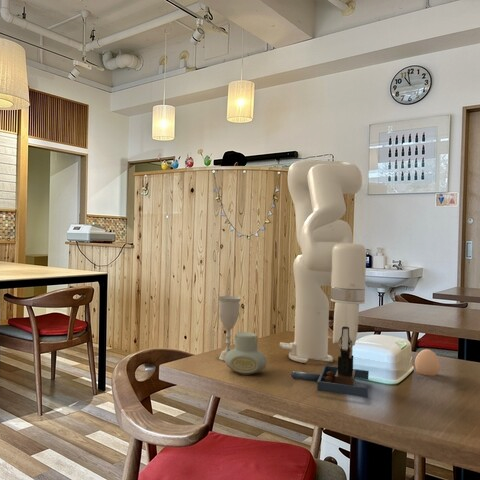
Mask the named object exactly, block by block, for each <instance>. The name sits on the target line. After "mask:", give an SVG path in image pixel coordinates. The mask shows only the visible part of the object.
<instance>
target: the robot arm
mask: <svg viewBox="0 0 480 480" xmlns="http://www.w3.org/2000/svg"><path fill="white" fill-rule="evenodd" d="M362 185H363V175H362V172H361V170H360V168H359V167H358V165H356V164H355V163H351V162H347V161H343V160H317V159H316V160H313V159H311V160H309V159H305V160H304V159H303V160H299V161H295V162H293V163H292V164H290V166H289V168H288V171H287V188H288V192H289V194H290V198H291V200H292V203H293V206H294V213H295V214H294V215H295V228H296V229H295V233H296V241H297V245H298V247H299V248H300V251H301V254H299V255H297V256H296V257H295V258H294V260H293V265H292V268H293V269H292V270H293V277H294V286H295V309H294V310H295V311H294V317H295V318H294V341H293V342H290V343H287V342H283V341H282V342H281V341H280V342H279V349H280V350H282V351H289V353H288V359H290V360H291V361H294V362H298V363H301V364H307V362H308V360H309V359H310V360H315V361H324V362H332V363H333V362H334V357H333V356H332V355H330V354H328V352H329V351H328V349H329V322H330V321H329V319H330V317H329V315H330V302H332V303H333V302H334V303H335V304H334V310H333V331H332V344H333V345H336V344H338V343H339V344H338V347H339V348H338V357H337V367H338V374H341V375H348V376H352V372H353V369H354V355H353V348H354V346H355V345H356V342H357V337H358V329H359V318H360V317H359V315H360V305H362V304H365V302H366V301H365V300H366V270H367V249H366V247H365V246H364V245H363V244H360V243H354V238H353V237H354V236H353V231H352V228H351V226H350V224H349V223H348V222H347V221H345V220H343V219H341V218H343V217H344V216H345V214H346V212H347V206H346V202H345V196H344V195H355V194H357V193H358V192H360V190H361V188H362ZM321 287H330V301H329V298H328V296H327V295H326V293H325V292H324V291H323V289H322V288H321Z"/></svg>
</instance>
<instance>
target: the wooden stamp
mask: <svg viewBox="0 0 480 480" xmlns="http://www.w3.org/2000/svg"><path fill="white" fill-rule="evenodd" d="M335 383H337V384H344V385H351V386H355V384H356V378H355V370H353V372H352V376H348V375H341V374H338V370H337V372H336V375H335Z"/></svg>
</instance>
